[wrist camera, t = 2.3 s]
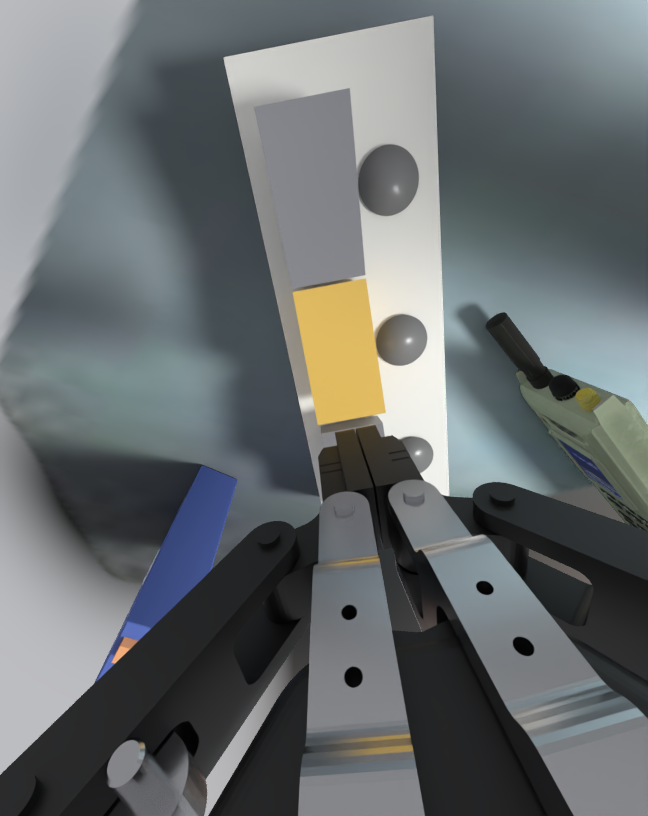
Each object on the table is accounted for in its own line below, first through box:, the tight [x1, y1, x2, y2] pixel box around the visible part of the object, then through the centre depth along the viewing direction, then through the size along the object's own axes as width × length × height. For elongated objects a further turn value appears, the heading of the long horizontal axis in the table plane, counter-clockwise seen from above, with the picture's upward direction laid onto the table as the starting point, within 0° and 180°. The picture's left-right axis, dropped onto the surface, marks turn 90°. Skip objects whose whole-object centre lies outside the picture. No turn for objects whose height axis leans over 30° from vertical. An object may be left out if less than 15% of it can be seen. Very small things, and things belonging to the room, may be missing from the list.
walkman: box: [94, 465, 237, 684], centre depth 21 cm, size 8×3×12 cm, turn 150°
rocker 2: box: [321, 416, 385, 448], centre depth 19 cm, size 3×6×2 cm, turn 10°
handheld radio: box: [486, 313, 648, 531], centre depth 23 cm, size 7×3×25 cm
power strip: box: [223, 16, 449, 504], centre depth 20 cm, size 8×24×4 cm, turn 10°
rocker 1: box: [293, 278, 386, 425], centre depth 16 cm, size 3×6×2 cm, turn 10°
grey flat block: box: [254, 88, 365, 289], centre depth 14 cm, size 3×6×2 cm, turn 10°
